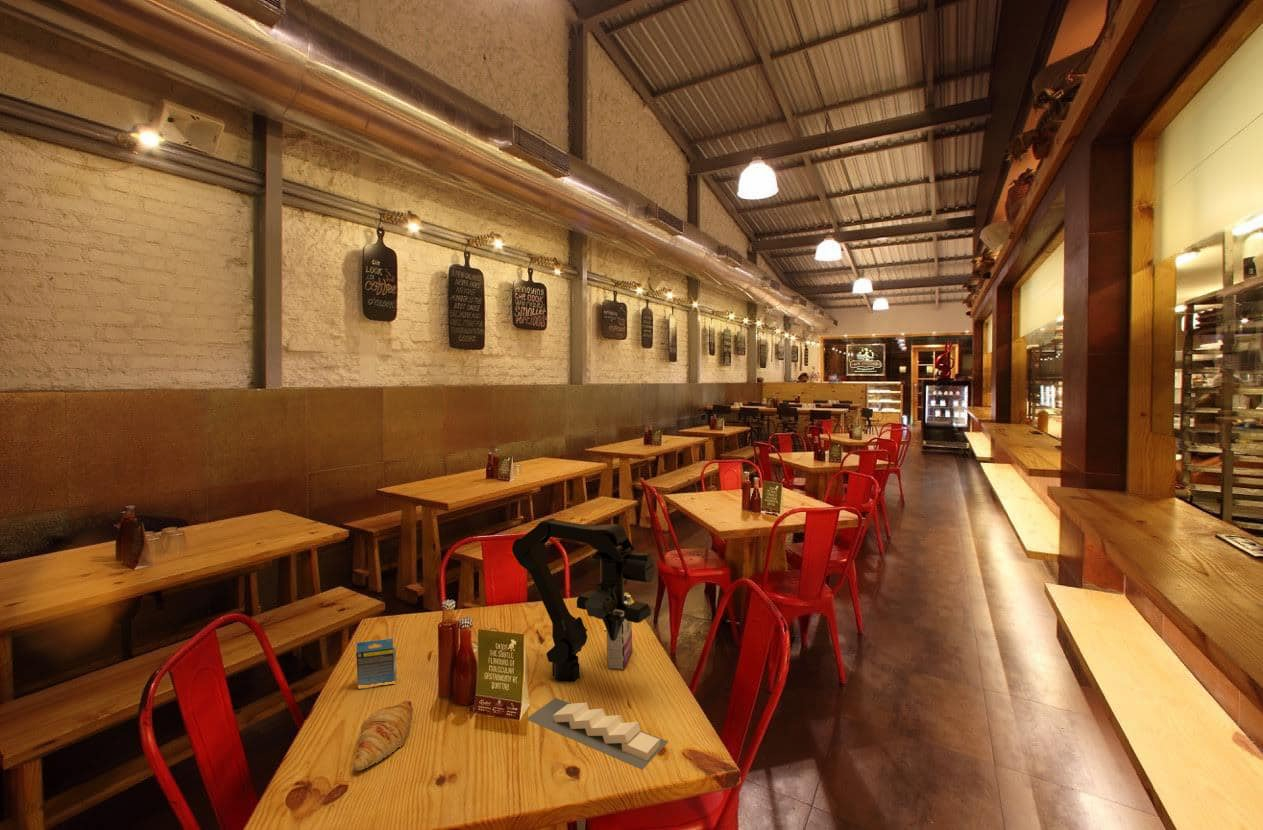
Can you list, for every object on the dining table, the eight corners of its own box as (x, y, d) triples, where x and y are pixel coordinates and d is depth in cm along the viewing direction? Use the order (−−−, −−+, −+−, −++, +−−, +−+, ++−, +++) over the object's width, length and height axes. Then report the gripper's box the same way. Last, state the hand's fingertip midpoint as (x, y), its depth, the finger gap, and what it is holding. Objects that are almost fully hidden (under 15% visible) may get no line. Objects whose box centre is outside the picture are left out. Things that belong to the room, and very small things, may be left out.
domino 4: (602, 735, 113) (624, 734, 110) (616, 723, 117) (638, 721, 114) (605, 743, 113) (627, 742, 110) (618, 730, 117) (640, 729, 114)
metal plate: (525, 723, 122) (525, 718, 122) (555, 701, 130) (555, 697, 130) (642, 774, 105) (642, 769, 105) (668, 746, 113) (668, 741, 113)
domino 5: (621, 742, 111) (647, 752, 107) (635, 729, 115) (659, 739, 112) (621, 750, 111) (647, 760, 108) (635, 737, 115) (659, 746, 112)
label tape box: (397, 677, 143) (395, 631, 143) (394, 685, 139) (393, 638, 139) (360, 682, 141) (358, 636, 140) (357, 691, 137) (355, 643, 136)
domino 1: (553, 715, 121) (572, 713, 118) (567, 704, 125) (586, 702, 122) (555, 722, 121) (574, 721, 117) (569, 711, 125) (588, 709, 122)
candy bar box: (615, 649, 156) (614, 593, 156) (632, 651, 155) (631, 594, 155) (606, 669, 146) (605, 608, 145) (624, 670, 145) (623, 610, 144)
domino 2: (568, 721, 118) (589, 720, 115) (583, 710, 123) (603, 708, 119) (570, 729, 118) (591, 727, 115) (585, 717, 122) (605, 716, 119)
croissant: (372, 793, 106) (389, 759, 106) (327, 770, 106) (343, 735, 106) (419, 725, 127) (434, 696, 127) (381, 705, 127) (395, 676, 127)
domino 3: (585, 728, 116) (606, 727, 113) (599, 716, 120) (620, 715, 117) (587, 736, 116) (608, 735, 112) (601, 723, 120) (622, 722, 117)
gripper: (561, 580, 132) (562, 644, 132) (625, 595, 121) (626, 663, 122) (589, 567, 141) (591, 627, 142) (651, 580, 131) (652, 644, 131)
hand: (613, 640), depth 134 cm, fingers closed
